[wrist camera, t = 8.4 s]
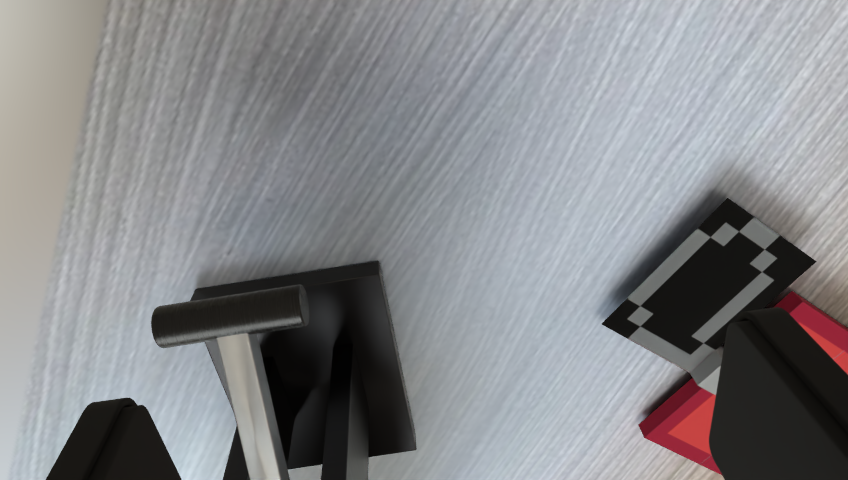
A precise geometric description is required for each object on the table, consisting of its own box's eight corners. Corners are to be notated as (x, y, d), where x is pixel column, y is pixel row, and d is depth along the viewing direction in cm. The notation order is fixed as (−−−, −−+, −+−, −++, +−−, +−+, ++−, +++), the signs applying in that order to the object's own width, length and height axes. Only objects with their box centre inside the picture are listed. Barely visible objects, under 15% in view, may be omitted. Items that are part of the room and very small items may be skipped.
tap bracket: (194, 289, 30) (86, 529, 19) (379, 260, 29) (381, 484, 18) (262, 457, 36) (211, 714, 25) (415, 433, 36) (433, 681, 24)
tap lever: (169, 297, 22) (140, 319, 20) (306, 275, 22) (293, 295, 20) (241, 584, 25) (223, 634, 22) (364, 565, 24) (359, 613, 22)
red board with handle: (748, 156, 28) (538, 370, 34) (784, 184, 25) (550, 409, 31) (1063, 397, 38) (858, 529, 44) (1109, 433, 35) (886, 567, 41)
